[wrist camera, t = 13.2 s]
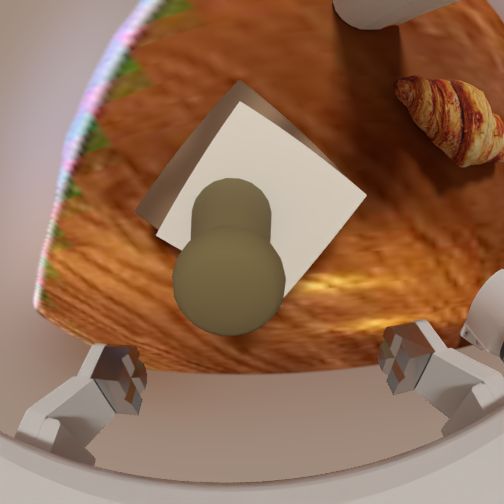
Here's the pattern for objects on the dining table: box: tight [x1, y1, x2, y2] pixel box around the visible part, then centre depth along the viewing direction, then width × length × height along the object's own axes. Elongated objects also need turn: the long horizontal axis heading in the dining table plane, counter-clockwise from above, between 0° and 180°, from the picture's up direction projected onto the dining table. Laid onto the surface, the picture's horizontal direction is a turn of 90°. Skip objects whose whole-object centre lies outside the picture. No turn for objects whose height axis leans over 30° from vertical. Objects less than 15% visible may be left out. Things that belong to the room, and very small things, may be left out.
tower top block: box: [156, 102, 367, 298], centre depth 23 cm, size 12×12×4 cm
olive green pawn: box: [172, 178, 286, 336], centre depth 17 cm, size 6×6×11 cm
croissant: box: [394, 76, 504, 167], centre depth 23 cm, size 21×10×8 cm
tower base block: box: [134, 80, 348, 230], centre depth 27 cm, size 15×15×5 cm
